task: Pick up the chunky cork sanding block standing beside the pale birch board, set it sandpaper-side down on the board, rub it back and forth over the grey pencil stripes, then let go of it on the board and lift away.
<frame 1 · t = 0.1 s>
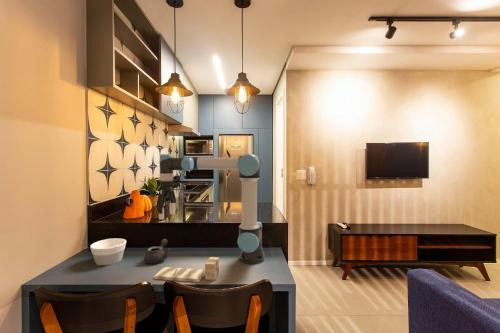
hand: (167, 216, 151), 28 cm above the table, fingers open, 13 cm apart
sanding block: (212, 276, 135), on the table
bowl: (109, 261, 155), on the table
teapot: (159, 259, 158), on the table
board: (180, 275, 136), on the table
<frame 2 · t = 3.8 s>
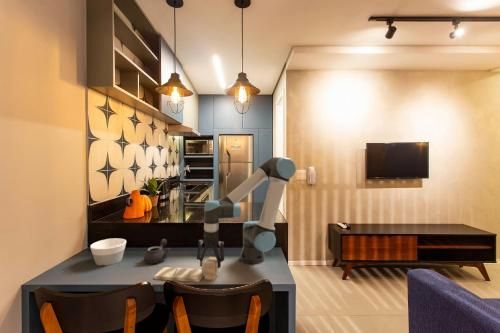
hand: (210, 273, 135), 2 cm above the table, fingers open, 7 cm apart
sanding block: (212, 276, 135), on the table, touching gripper
everything else where it was.
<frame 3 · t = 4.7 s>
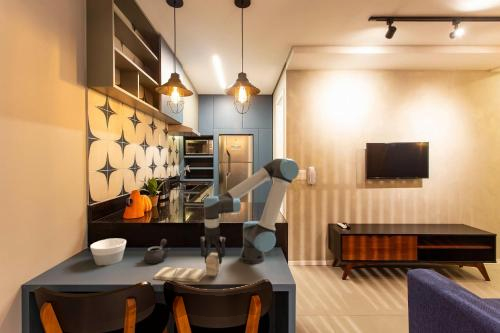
hand: (213, 269, 135), 4 cm above the table, fingers closed on sanding block, 5 cm apart
sanding block: (213, 271, 135), point 2 cm above the table, touching gripper
everything else where it was.
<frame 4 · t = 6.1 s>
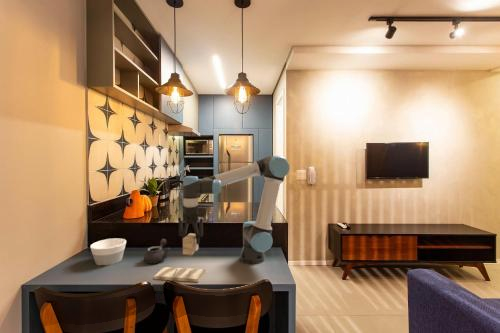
hand: (191, 249, 135), 14 cm above the table, fingers closed on sanding block, 5 cm apart
sanding block: (191, 252, 135), point 13 cm above the table, touching gripper
everything else where it was.
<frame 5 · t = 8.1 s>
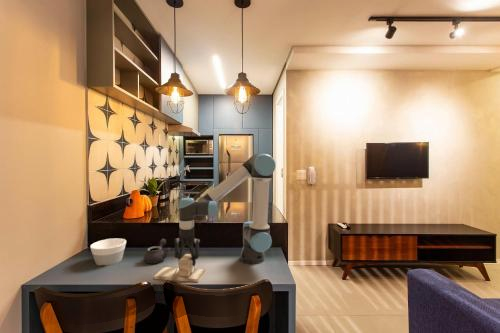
hand: (187, 271, 135), 3 cm above the table, fingers closed on sanding block, 5 cm apart
sanding block: (187, 273, 135), point 2 cm above the table, touching gripper
everything else where it was.
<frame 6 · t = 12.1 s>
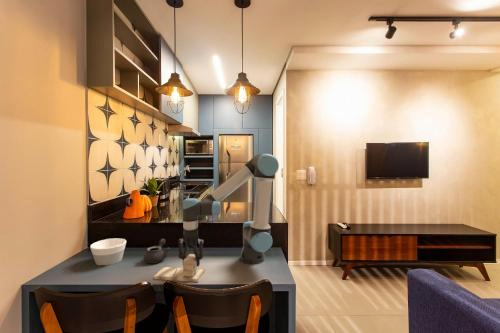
hand: (191, 271, 135), 2 cm above the table, fingers closed on sanding block, 5 cm apart
sanding block: (191, 273, 135), point 2 cm above the table, touching gripper
everything else where it was.
when the fingers open (3 cm above the table, at t = 16.0 s): sanding block stays where it is, resting on board.
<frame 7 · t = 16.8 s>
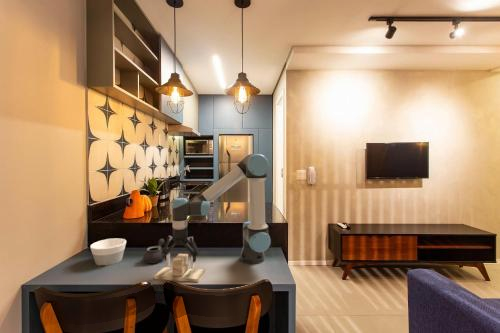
hand: (180, 267, 136), 5 cm above the table, fingers open, 13 cm apart
sanding block: (180, 272, 136), point 2 cm above the table, touching board
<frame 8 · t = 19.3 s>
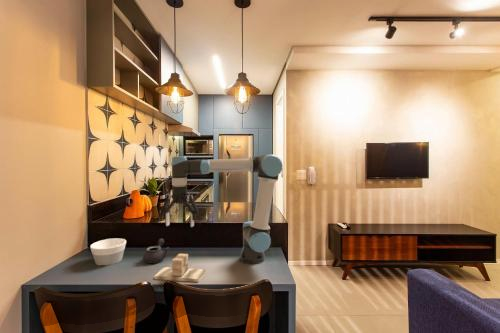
hand: (180, 225, 135), 27 cm above the table, fingers open, 13 cm apart
at the end: sanding block inside the target area on the board (0.0 cm from its centre), point 1.5 cm above the board's base; sanding block tilted 0°; the gripper is holding nothing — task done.
